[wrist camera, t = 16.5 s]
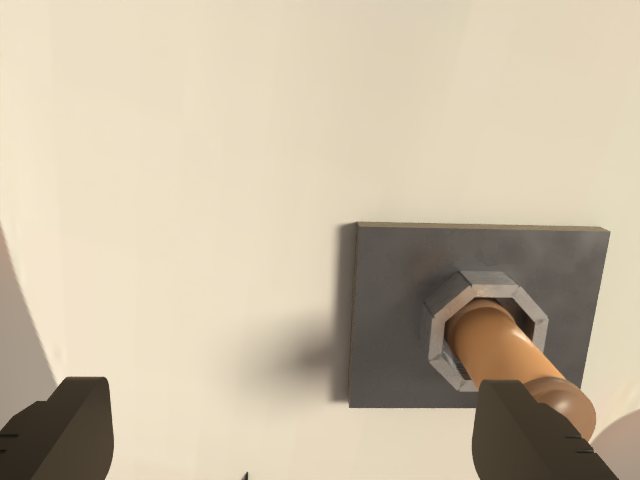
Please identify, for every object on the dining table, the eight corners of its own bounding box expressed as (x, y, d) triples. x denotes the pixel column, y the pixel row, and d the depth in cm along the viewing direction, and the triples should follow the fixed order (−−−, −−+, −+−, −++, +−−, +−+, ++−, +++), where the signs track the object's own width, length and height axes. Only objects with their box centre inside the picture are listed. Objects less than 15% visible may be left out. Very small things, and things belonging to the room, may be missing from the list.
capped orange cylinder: (447, 292, 41) (514, 385, 29) (512, 295, 42) (605, 388, 29) (437, 352, 43) (497, 464, 31) (500, 354, 43) (584, 466, 31)
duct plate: (357, 221, 41) (364, 236, 37) (599, 226, 42) (634, 242, 38) (347, 397, 45) (353, 429, 41) (567, 398, 47) (595, 429, 42)
